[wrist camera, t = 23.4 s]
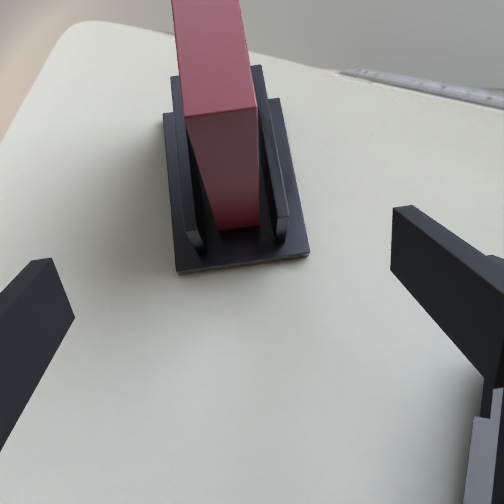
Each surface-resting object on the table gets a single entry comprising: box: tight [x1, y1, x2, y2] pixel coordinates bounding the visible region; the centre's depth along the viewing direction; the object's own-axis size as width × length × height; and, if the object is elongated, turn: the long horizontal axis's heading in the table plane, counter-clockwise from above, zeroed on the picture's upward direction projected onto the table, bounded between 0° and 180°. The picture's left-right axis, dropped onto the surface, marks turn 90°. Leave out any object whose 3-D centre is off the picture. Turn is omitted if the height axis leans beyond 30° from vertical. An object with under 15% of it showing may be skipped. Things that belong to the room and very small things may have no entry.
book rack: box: [163, 65, 310, 275], centre depth 29 cm, size 10×14×6 cm
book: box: [171, 0, 260, 231], centre depth 24 cm, size 3×8×14 cm, turn 8°
